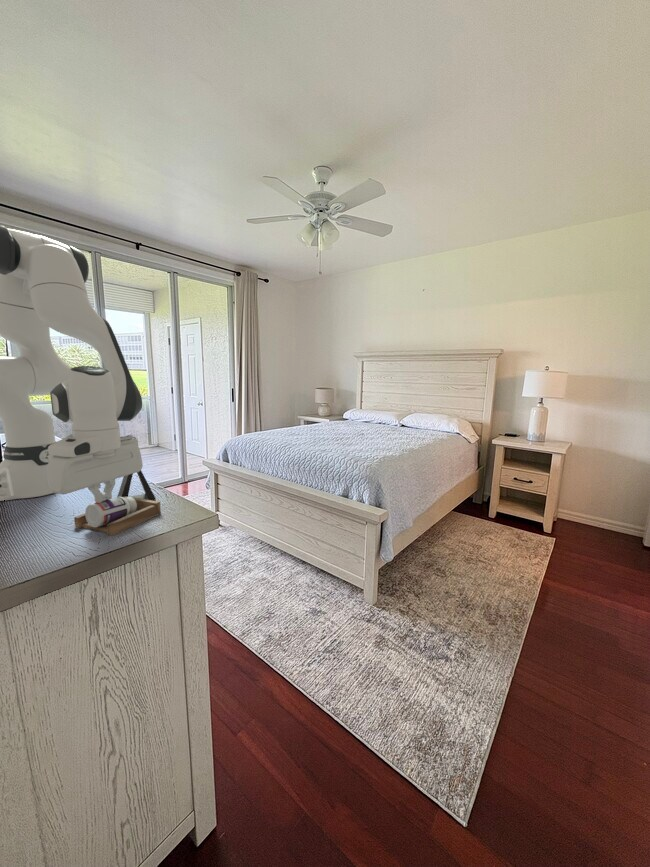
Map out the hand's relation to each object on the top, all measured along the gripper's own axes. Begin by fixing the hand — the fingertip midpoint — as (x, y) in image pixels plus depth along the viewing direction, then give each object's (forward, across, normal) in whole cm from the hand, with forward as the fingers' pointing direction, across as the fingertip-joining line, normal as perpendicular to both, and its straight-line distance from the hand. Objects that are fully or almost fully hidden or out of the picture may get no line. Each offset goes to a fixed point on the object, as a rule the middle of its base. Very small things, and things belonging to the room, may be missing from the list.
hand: (103, 500), depth 81 cm
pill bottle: (+3, +3, 0) cm, 4 cm away
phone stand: (+6, -16, -8) cm, 19 cm away
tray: (+6, -4, 0) cm, 7 cm away
